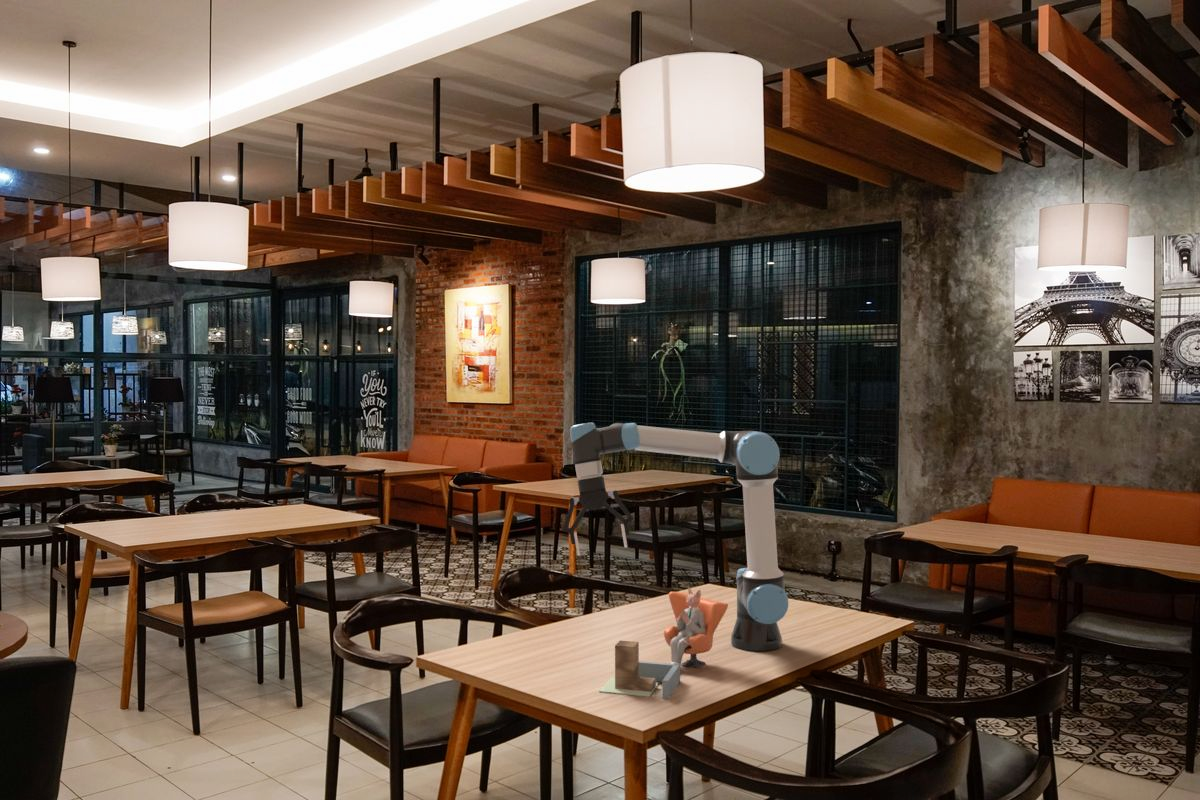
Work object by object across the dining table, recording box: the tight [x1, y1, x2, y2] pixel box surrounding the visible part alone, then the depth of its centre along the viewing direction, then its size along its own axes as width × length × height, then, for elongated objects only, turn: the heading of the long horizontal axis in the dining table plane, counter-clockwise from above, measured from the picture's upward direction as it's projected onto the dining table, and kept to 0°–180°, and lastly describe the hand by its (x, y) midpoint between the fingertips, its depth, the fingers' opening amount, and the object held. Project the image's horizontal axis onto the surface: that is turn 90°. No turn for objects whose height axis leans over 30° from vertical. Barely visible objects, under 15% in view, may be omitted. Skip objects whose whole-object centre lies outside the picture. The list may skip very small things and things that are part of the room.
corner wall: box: [639, 660, 681, 700], centre depth 238 cm, size 15×14×4 cm
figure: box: [663, 587, 729, 670], centre depth 255 cm, size 22×18×21 cm
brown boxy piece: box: [614, 640, 657, 693], centre depth 237 cm, size 10×5×11 cm, turn 74°
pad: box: [598, 677, 660, 698], centre depth 237 cm, size 13×11×1 cm
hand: (602, 551), depth 262 cm, fingers open, 13 cm apart
